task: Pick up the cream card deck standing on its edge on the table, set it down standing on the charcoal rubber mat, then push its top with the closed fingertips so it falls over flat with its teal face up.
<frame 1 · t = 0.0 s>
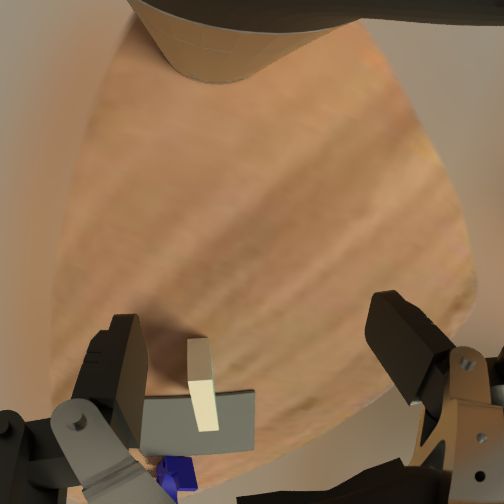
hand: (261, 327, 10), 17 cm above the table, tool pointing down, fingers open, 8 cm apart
cable clip: (168, 468, 44), on the table, touching mat
deck: (201, 367, 34), on the table
mat: (190, 428, 39), on the table
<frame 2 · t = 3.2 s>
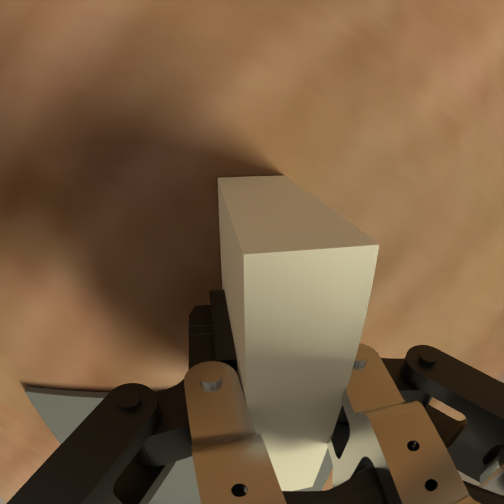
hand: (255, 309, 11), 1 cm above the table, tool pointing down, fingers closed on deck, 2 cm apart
deck: (252, 296, 12), on the table, touching gripper
mat: (206, 465, 17), on the table
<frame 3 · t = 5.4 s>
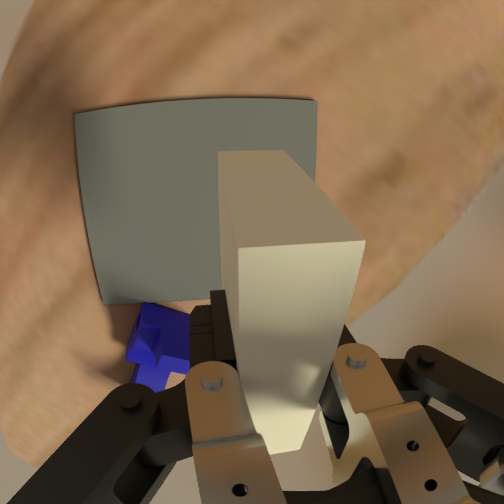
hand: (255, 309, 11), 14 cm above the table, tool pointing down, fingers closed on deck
cable clip: (148, 353, 29), on the table, touching mat
deck: (249, 263, 12), point 12 cm above the table, tilted 9°, touching gripper
mat: (197, 205, 24), on the table
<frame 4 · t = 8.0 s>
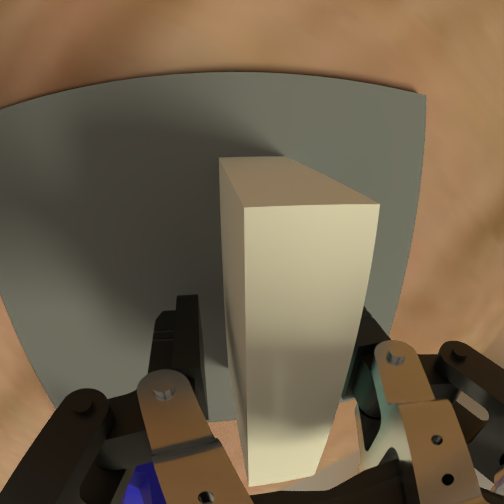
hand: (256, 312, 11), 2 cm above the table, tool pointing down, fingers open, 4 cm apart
cable clip: (137, 466, 17), on the table, touching mat
deck: (252, 279, 12), resting on mat
mat: (198, 292, 12), on the table
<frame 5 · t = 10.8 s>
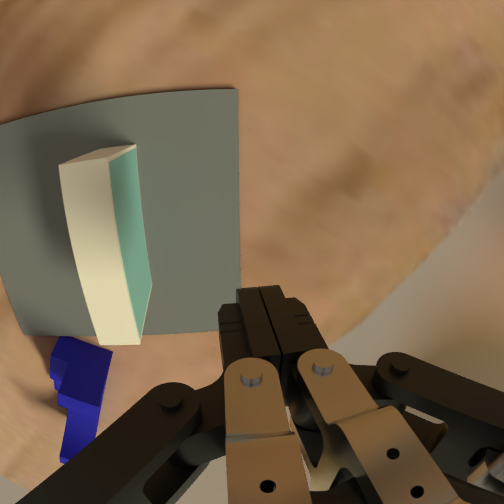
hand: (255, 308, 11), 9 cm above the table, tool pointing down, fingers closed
cable clip: (81, 384, 24), on the table
deck: (125, 220, 18), resting on mat
mat: (98, 231, 18), on the table
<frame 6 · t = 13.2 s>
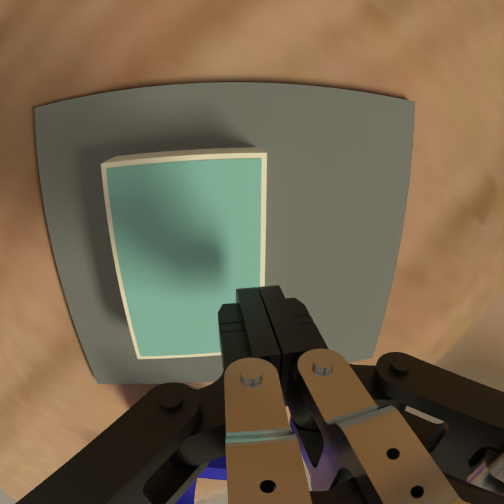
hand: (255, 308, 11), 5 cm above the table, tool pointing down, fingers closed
cable clip: (177, 432, 21), on the table
deck: (260, 255, 14), point 1 cm above the table, tilted 90°, touching mat
mat: (234, 256, 15), on the table
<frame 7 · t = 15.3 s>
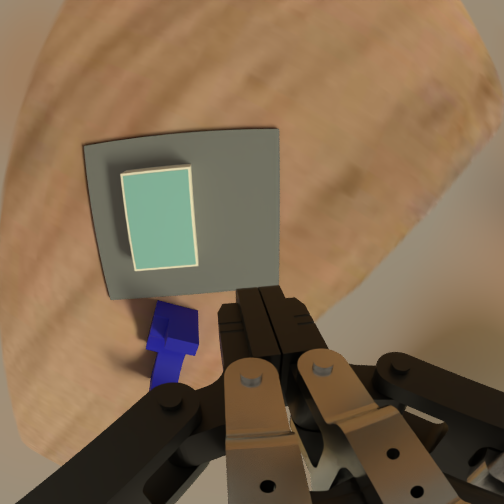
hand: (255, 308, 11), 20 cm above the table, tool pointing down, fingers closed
cable clip: (165, 344, 35), on the table
deck: (194, 215, 28), point 1 cm above the table, tilted 90°, touching mat
mat: (184, 218, 29), on the table
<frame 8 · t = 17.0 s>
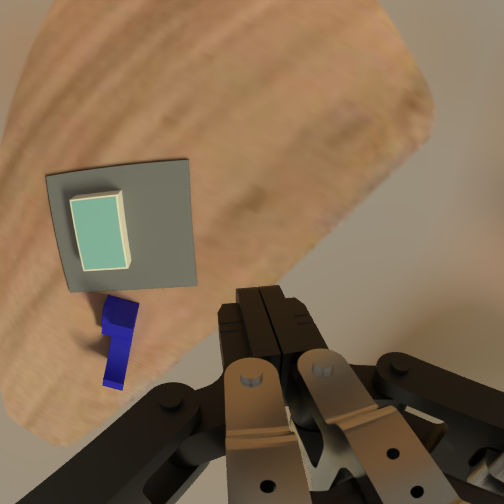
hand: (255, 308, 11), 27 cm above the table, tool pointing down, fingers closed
cable clip: (118, 330, 42), on the table
deck: (124, 229, 35), point 1 cm above the table, tilted 90°, touching mat
mat: (120, 231, 36), on the table
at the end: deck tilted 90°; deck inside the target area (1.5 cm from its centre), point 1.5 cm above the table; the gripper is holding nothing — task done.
